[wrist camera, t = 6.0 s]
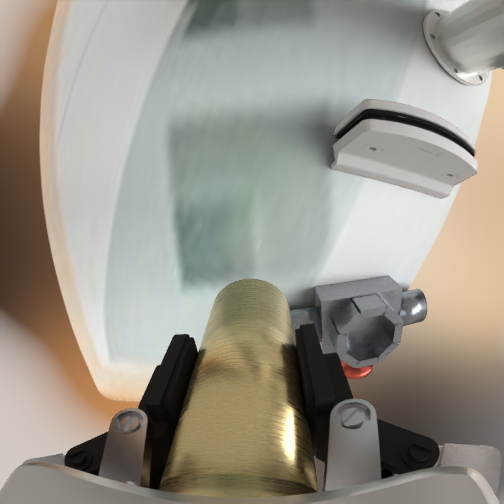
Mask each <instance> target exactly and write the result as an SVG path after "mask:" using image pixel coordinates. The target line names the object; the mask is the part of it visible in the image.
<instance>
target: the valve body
mask: <svg viewBox="0 0 504 504" xmlns="http://www.w3.org/2000/svg"><path fill="white" fill-rule="evenodd" d="M402 289H403V288H402V287H401V286H400V285H399V284H397V283H396V282H395V281H394V280H393V279H392V278H391V277H390V276H384V277H378V278H371V279H365V280H359V281H352V282H345V283H339V284H332V285H325V286H317V287H314V291H315V307H309V308H301V309H294V310H290V313H291V318H292V324H293V330H294V335H295V329H300V325H303V324H310V323H314V325H315V328H316V332H317V335H318V338H319V342H320V345H321V349H322V352H323V354H327V353H334V352H337V353H338V355H339V358H340V361H341V364H342V367H343V369H344V372H345V375H346V378H349V379H360V378H363V377H366V376H367V375H368V374H370V373H371V371H372V368H373V365H374V364H378V363H379V361H381V362H382V361H383V360H384V359H385V358H386V357H387V356H388V355H389V354H390V353H391V352H392V351H393V350H394V349H395V348H396V347H397V346H398V345H399V344H398V343H400V340H401V334H402V328H403V326H406V325H409V324H414V323H417V322H421V321H423V320H424V319H425V317H426V315H427V302H426V298H425V296H424V293H423V292H422V291H421V290H420V289H414V290H409V291H404V292H402ZM295 341H296V338H295Z"/></svg>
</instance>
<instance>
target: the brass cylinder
mask: <svg viewBox="0 0 504 504" xmlns="http://www.w3.org/2000/svg"><path fill="white" fill-rule="evenodd" d="M159 490H160V491H166V492H173V493H180V494H189V495H199V496H212V497H239V498H250V497H277V496H290V495H300V494H309V493H316V492H318V485H317V477H316V469H315V462H314V455H313V448H312V441H311V434H310V427H309V423H308V419H307V413H306V406H305V399H304V393H303V387H302V380H301V374H300V368H299V362H298V356H297V350H296V341H295V335H294V330H293V324H292V318H291V313H290V307H289V304H288V301H287V299H286V297H285V296H284V294H283V293H282V292H281V291H280V290H279V289H278V288H277V287H275V286H274V285H272V284H270V283H268V282H266V281H262V280H258V279H243V280H239V281H235V282H233V283H231V284H229V285H227V286H226V287H225V288H223V289H222V290H221V291H220V292H219V294H218V295H217V297H216V299H215V301H214V304H213V307H212V310H211V313H210V317H209V320H208V323H207V326H206V329H205V333H204V336H203V339H202V342H201V346H200V349H199V352H198V355H197V359H196V362H195V365H194V369H193V372H192V375H191V379H190V382H189V385H188V389H187V392H186V395H185V399H184V402H183V406H182V409H181V413H180V416H179V420H178V423H177V426H176V430H175V434H174V437H173V441H172V444H171V448H170V451H169V455H168V459H167V462H166V466H165V469H164V473H163V477H162V481H161V484H160V488H159Z"/></svg>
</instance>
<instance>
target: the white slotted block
mask: <svg viewBox="0 0 504 504" xmlns="http://www.w3.org/2000/svg"><path fill="white" fill-rule="evenodd" d="M333 135H335V136H336V138H340V139H339V140H337V141H336V143H335V144H334V145H333V151H334V158H335V161H334V162H333V163H332V164H331V169H332V170H337V171H342V172H346V173H350V174H355V175H359V176H363V177H367V178H371V179H375V180H379V181H383V182H387V183H390V184H394V185H398V186H401V187H405V188H408V189H412V190H415V191H418V192H422V193H425V194H428V195H431V196H434V197H438V198H441V199H442V198H445V197H448V196H449V195H450V193H451V191H452V189H453V187H454V186H455V185H457V184H459V183H461V182H462V181H464V180H466V179H468V178H470V177H472V176H474V175H476V174H477V164H478V162H477V160H476V159H475V158H474V156H475V154H476V150H475V147H474V144H473V142H472V140H471V139H470V138H469V137H468V136H467V135H466V134H465V133H464V132H463V131H461V130H460V129H459V128H457V127H456V126H455V125H453V124H452V123H450V122H448V121H447V120H445V119H443V118H441V117H439V116H437V115H435V114H432V113H430V112H428V111H425V110H422V109H419V108H416V107H413V106H409V105H406V104H401V103H397V102H391V101H385V100H376V99H366V100H364V101H362V102H361V103H360V104H359V105H358V106H357V107H356V108H355V109H354V110H353V111H351V112H350V113H349V114H348V115H347V116H346V117H345V118H344V119H343V120H342V121H341V122H340V123H339V124H338V125H337V126H336V128H335V130H334V134H333Z"/></svg>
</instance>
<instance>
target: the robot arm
mask: <svg viewBox="0 0 504 504" xmlns="http://www.w3.org/2000/svg"><path fill="white" fill-rule="evenodd" d="M423 30H424V35H425V38H426V41H427V43H428V46H429V48H430V49H431V51H432V53H433V55H434V56H435V58H436V59H437V61H438V62H439V63H440V64H441V66H442V67H443V68H444V69H445V70H446V71H447V72H448V73H449V74H450V75H451V76H452V77H454V78H455V79H456V80H458V81H460V82H461V83H463V84H466V85H470V86H475V85H480V84H482V83H483V82H485V81H486V79H487V77H488V73H489V71H490V70H494V69H497V68H502V69H504V0H469V1H467V2H466V3H464V4H462V5H461V6H459V7H458V8H456V9H454V10H453V11H451V12H448V11H445V10H433V11H431V12H430V13H428V14H427V15H426V16H425V19H424V22H423ZM295 338H296V350H297V356H298V362H299V368H300V374H301V380H302V387H303V393H304V399H305V406H306V413H307V419H308V423H309V427H310V434H311V441H312V448H313V455H316V458H317V459H319V460H321V461H323V462H325V465H324V476H323V486H322V492H316V493H309V494H300V495H290V496H277V497H250V498H239V497H212V496H199V495H189V494H180V493H173V492H166V491H160V490H159V488H160V484H161V481H162V477H163V473H164V469H165V466H166V462H167V459H168V455H169V451H170V448H171V444H172V441H173V437H174V434H175V430H176V426H177V423H178V420H179V416H180V413H181V409H182V406H183V402H184V399H185V395H186V392H187V389H188V385H189V382H190V379H191V375H192V372H193V369H194V365H195V362H196V359H197V355H198V351H197V347H196V344H195V341H194V338H193V337H192V338H190V337H189V335H188V334H181V335H174V336H173V338H172V341H171V343H170V345H169V347H168V349H167V352H166V354H165V356H164V358H163V360H162V363H161V365H158V366H157V367H156V368H155V371H154V373H153V375H152V377H151V379H150V382H149V384H148V386H147V388H146V390H145V393H144V395H143V397H142V399H141V402H140V404H139V406H138V408H128V409H125V410H121V411H120V412H118V413H117V414H116V415H115V416H114V417H113V418H112V420H111V423H110V427H109V431H108V432H106V433H104V434H102V435H99V436H97V437H95V438H93V439H91V440H88V441H86V442H84V443H82V444H80V445H77V446H75V447H73V448H71V449H70V450H69V451H68V452H67V454H66V455H64V454H57V455H52V456H46V457H40V458H34V459H29V460H26V461H25V462H24V463H23V464H22V465H20V466H19V467H18V468H16V469H15V470H14V471H13V473H12V474H11V475H10V476H9V478H8V479H7V481H6V482H5V484H4V486H3V487H2V489H1V491H0V504H499V502H498V499H497V498H496V496H497V491H498V484H499V476H500V469H501V454H500V452H499V450H497V449H496V448H495V447H492V446H479V445H460V444H448V443H445V445H444V446H441V445H437V443H436V442H435V441H434V440H432V439H431V438H429V437H426V436H423V435H420V434H417V433H414V432H411V431H409V430H406V429H403V428H400V427H397V426H395V425H392V424H389V423H387V422H384V421H382V420H379V419H377V417H376V412H375V409H374V407H373V406H372V405H371V404H370V403H368V402H366V401H363V400H360V399H353V396H352V393H351V390H350V387H349V384H348V381H347V378H346V375H345V372H344V369H343V367H342V364H341V361H340V358H339V355H338V353H337V352H334V353H327V354H323V352H322V349H321V345H320V342H319V338H318V335H317V332H316V328H315V325H314V323H310V324H303V325H300V329H295Z"/></svg>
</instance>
